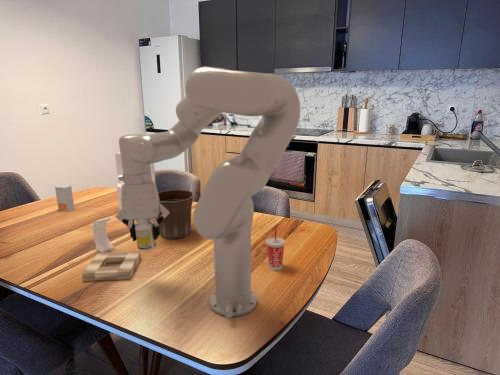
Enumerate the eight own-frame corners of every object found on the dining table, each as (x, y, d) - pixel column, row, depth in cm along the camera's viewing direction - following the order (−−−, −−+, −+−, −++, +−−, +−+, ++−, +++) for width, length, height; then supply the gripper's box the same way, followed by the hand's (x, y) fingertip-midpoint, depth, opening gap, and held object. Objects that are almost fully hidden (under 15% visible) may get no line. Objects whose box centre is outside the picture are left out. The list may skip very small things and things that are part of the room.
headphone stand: (102, 253, 124) (97, 221, 121) (94, 248, 128) (90, 217, 125) (114, 248, 127) (110, 217, 124) (106, 244, 131) (103, 214, 128)
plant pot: (183, 244, 131) (180, 203, 127) (146, 238, 136) (142, 199, 132) (202, 228, 146) (200, 191, 142) (168, 224, 151) (166, 188, 147)
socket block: (130, 279, 107) (129, 271, 106) (82, 281, 106) (81, 273, 105) (140, 258, 120) (140, 251, 119) (98, 259, 119) (97, 253, 118)
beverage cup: (264, 270, 111) (265, 229, 107) (266, 261, 117) (266, 222, 113) (284, 272, 110) (285, 230, 106) (285, 262, 116) (285, 223, 112)
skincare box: (58, 210, 170) (54, 186, 166) (65, 207, 174) (61, 184, 170) (68, 211, 168) (64, 187, 165) (75, 208, 172) (71, 185, 169)
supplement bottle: (149, 242, 107) (145, 212, 105) (160, 246, 104) (156, 215, 102) (134, 248, 103) (129, 217, 101) (144, 253, 100) (140, 220, 98)
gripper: (102, 183, 94) (112, 246, 99) (166, 179, 95) (173, 241, 100) (111, 177, 102) (120, 236, 106) (170, 174, 103) (177, 232, 107)
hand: (145, 238), depth 103 cm, fingers closed on supplement bottle, 5 cm apart
